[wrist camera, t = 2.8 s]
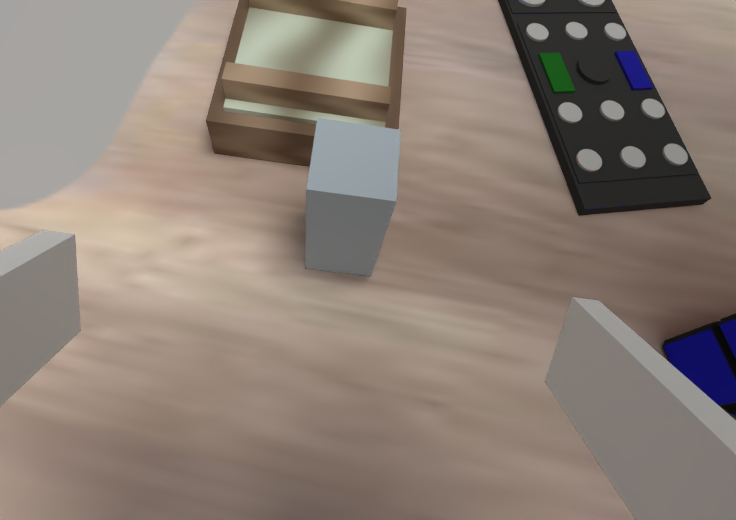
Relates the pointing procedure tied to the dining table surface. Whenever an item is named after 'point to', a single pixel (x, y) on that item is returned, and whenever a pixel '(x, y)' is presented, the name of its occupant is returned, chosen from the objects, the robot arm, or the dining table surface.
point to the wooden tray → (305, 74)
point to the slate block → (350, 195)
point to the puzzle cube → (708, 360)
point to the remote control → (601, 108)
